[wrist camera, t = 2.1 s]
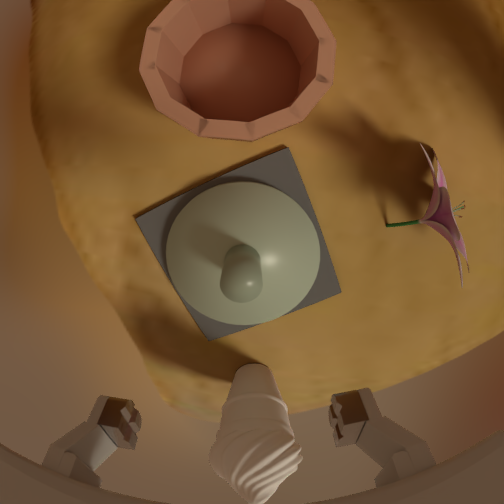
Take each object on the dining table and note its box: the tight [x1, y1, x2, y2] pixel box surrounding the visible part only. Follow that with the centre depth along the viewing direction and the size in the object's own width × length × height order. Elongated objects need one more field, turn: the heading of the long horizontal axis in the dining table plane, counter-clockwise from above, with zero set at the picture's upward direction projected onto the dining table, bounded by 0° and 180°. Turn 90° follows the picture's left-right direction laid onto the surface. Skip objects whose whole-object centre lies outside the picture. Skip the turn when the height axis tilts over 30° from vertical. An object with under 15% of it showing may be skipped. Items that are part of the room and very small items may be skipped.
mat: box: [136, 147, 341, 341], centre depth 24 cm, size 14×14×1 cm
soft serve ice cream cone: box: [209, 363, 303, 504], centre depth 22 cm, size 8×8×16 cm
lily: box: [386, 144, 469, 287], centre depth 19 cm, size 12×12×10 cm
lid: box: [166, 181, 320, 325], centre depth 22 cm, size 13×13×5 cm
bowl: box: [139, 0, 336, 142], centre depth 15 cm, size 11×11×7 cm
